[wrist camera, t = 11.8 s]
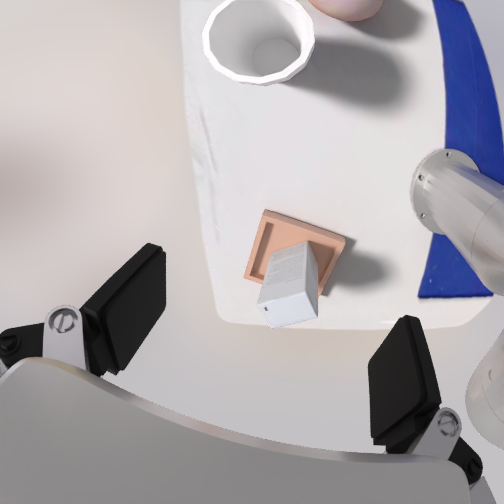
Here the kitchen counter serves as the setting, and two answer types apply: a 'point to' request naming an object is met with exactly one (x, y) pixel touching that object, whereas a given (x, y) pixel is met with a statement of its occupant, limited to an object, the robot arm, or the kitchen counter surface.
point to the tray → (288, 234)
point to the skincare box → (290, 286)
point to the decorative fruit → (348, 8)
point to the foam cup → (259, 40)
